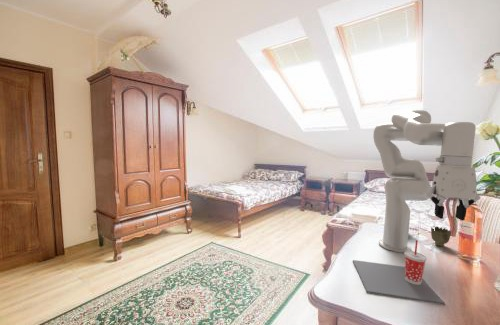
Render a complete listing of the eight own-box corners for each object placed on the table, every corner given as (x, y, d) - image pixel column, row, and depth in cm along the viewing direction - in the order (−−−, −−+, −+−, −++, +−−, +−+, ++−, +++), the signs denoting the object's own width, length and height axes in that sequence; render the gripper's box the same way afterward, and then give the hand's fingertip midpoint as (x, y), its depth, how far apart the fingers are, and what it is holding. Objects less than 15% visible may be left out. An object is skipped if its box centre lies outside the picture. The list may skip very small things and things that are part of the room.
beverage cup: (403, 273, 83) (406, 235, 82) (424, 280, 79) (428, 240, 78) (400, 280, 78) (404, 240, 77) (423, 288, 74) (427, 246, 73)
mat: (352, 261, 92) (352, 259, 92) (412, 269, 87) (412, 267, 87) (366, 292, 72) (367, 290, 72) (444, 304, 68) (444, 302, 68)
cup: (443, 250, 105) (445, 232, 104) (425, 243, 112) (427, 227, 111) (453, 247, 108) (454, 231, 107) (435, 241, 115) (436, 225, 114)
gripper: (431, 161, 71) (425, 219, 73) (497, 164, 68) (490, 225, 69) (418, 159, 79) (413, 212, 80) (478, 162, 75) (472, 217, 77)
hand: (449, 217), depth 75 cm, fingers open, 5 cm apart
